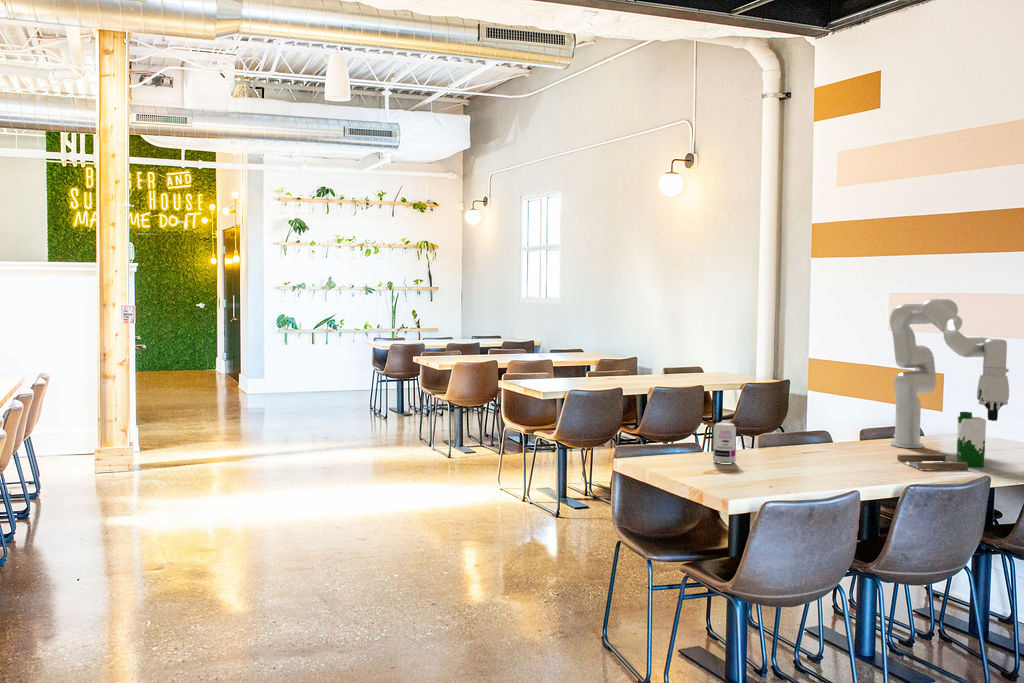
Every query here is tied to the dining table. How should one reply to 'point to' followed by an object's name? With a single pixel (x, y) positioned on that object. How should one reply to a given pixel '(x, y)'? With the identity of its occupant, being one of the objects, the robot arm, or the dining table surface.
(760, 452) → the dining table surface
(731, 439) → the supplement can
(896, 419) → the robot arm
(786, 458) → the dining table surface
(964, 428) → the soya milk
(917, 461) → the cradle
